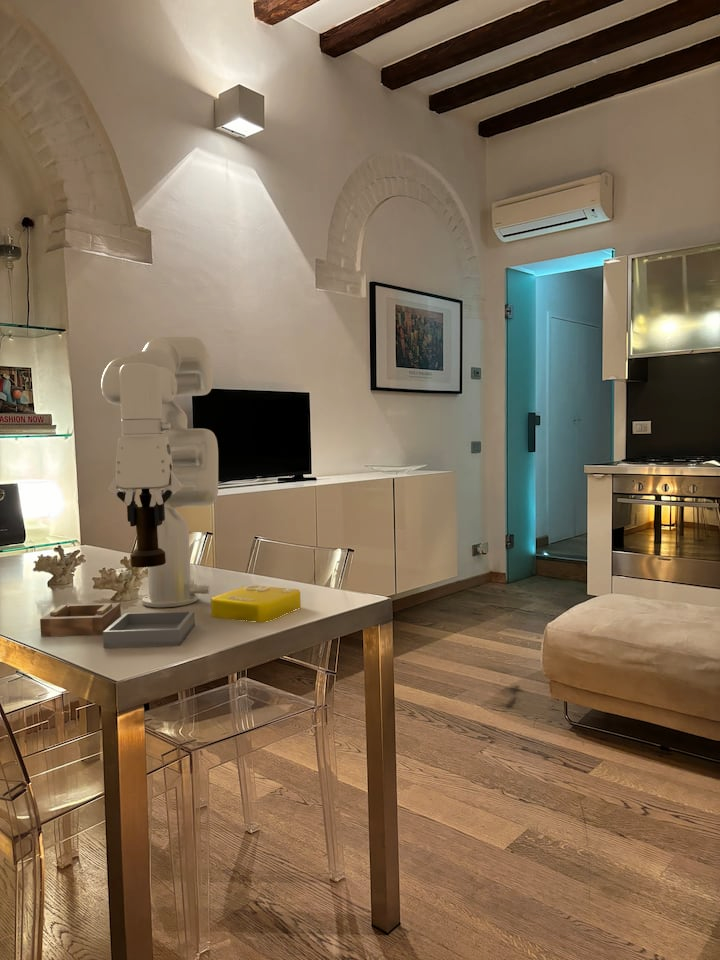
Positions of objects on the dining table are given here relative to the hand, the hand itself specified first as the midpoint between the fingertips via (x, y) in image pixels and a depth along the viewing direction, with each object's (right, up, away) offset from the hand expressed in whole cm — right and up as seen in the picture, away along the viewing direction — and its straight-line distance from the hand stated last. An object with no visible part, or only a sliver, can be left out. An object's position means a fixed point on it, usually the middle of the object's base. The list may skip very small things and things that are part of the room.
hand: (146, 524), depth 140 cm
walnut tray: (-16, -22, +9) cm, 28 cm away
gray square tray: (+1, -22, +2) cm, 22 cm away
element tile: (+18, -21, +19) cm, 34 cm away
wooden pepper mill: (0, -8, 0) cm, 8 cm away
